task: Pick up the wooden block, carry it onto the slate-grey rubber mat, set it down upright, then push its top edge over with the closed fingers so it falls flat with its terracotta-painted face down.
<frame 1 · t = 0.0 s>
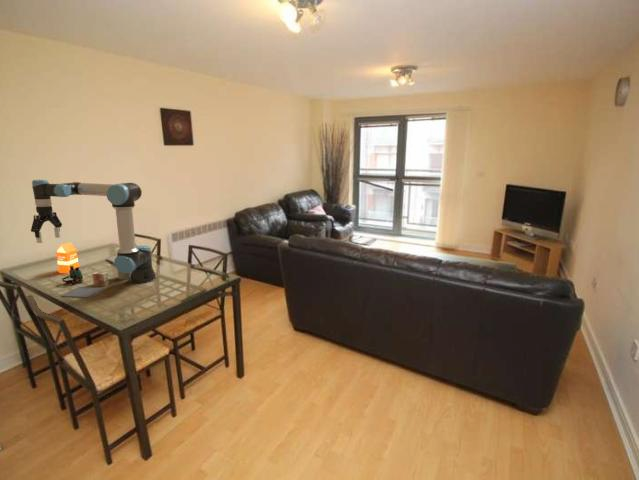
hand: (49, 240, 204), 28 cm above the table, fingers open, 13 cm apart
travel mug: (125, 278, 224), on the table
mat: (83, 292, 197), on the table
tablet: (123, 261, 257), on the table
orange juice: (69, 271, 231), on the table
binoculars: (73, 283, 210), on the table
wooden block: (101, 284, 210), on the table
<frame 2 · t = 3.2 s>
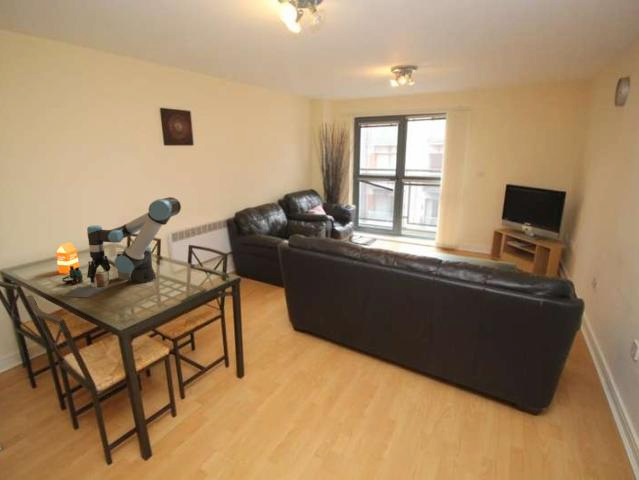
hand: (100, 283, 210), 1 cm above the table, fingers open, 11 cm apart
nothing on the table moved.
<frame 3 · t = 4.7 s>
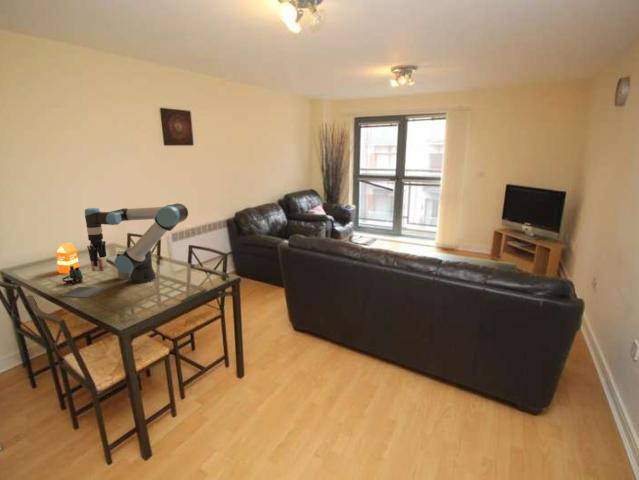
hand: (100, 269, 208), 10 cm above the table, fingers closed on wooden block, 4 cm apart
wooden block: (99, 270, 208), point 10 cm above the table, touching gripper
everything else where it was.
when the fingers open (2 cm above the table, at t = 7.7 s): wooden block stays where it is, resting on mat.
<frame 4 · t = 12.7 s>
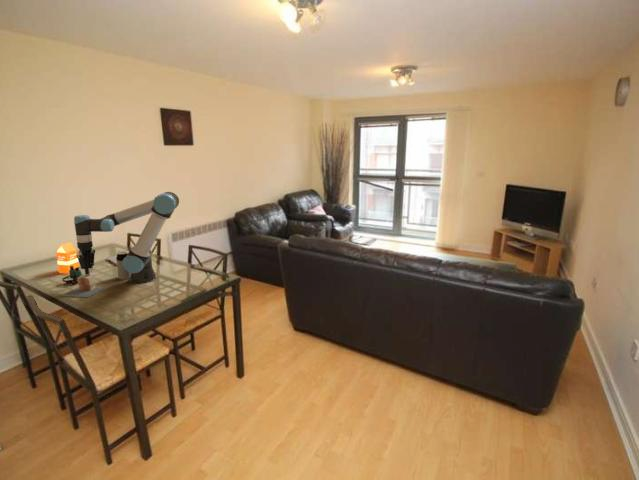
hand: (89, 278, 202), 7 cm above the table, fingers closed
wooden block: (87, 288, 201), point 1 cm above the table, touching gripper, mat
everything else where it was.
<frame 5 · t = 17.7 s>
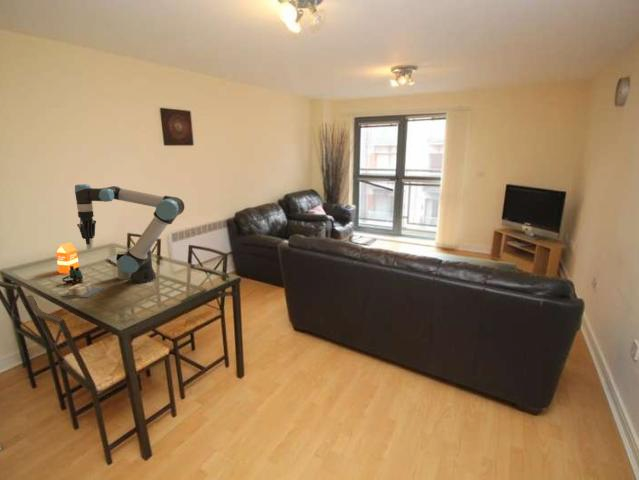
hand: (90, 248, 201), 24 cm above the table, fingers closed
wooden block: (84, 287, 199), point 3 cm above the table, tilted 90°, touching mat
everything else where it was.
at the end: wooden block tilted 90°; wooden block inside the target area on the mat (2.6 cm from its centre), point 2.6 cm above the mat's base; the gripper is holding nothing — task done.
